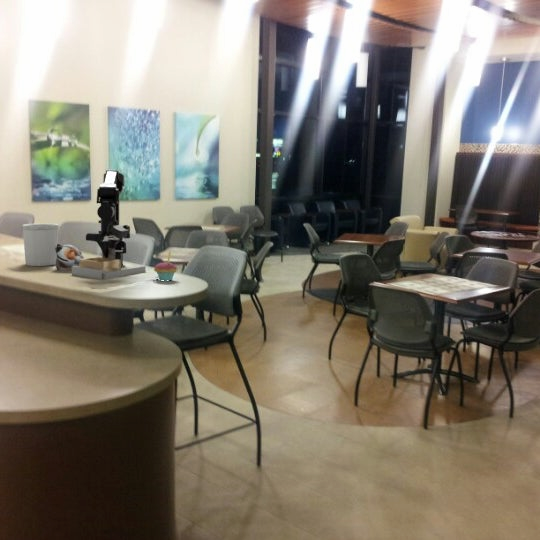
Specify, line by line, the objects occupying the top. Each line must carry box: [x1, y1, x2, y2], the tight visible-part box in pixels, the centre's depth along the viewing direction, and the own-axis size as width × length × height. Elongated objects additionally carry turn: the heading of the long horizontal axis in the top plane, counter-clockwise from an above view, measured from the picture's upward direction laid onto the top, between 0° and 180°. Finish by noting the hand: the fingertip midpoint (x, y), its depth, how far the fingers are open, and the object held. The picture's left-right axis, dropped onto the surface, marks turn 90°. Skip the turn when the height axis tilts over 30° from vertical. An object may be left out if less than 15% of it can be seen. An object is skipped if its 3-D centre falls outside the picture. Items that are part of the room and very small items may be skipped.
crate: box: [79, 248, 122, 272], centre depth 229 cm, size 11×12×10 cm
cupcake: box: [153, 250, 178, 282], centre depth 227 cm, size 9×8×12 cm
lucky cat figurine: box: [55, 243, 86, 271], centre depth 243 cm, size 15×12×14 cm
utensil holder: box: [21, 223, 60, 267], centre depth 258 cm, size 15×15×18 cm
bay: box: [71, 265, 147, 280], centre depth 233 cm, size 23×17×4 cm
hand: (108, 257), depth 232 cm, fingers closed on crate, 2 cm apart
